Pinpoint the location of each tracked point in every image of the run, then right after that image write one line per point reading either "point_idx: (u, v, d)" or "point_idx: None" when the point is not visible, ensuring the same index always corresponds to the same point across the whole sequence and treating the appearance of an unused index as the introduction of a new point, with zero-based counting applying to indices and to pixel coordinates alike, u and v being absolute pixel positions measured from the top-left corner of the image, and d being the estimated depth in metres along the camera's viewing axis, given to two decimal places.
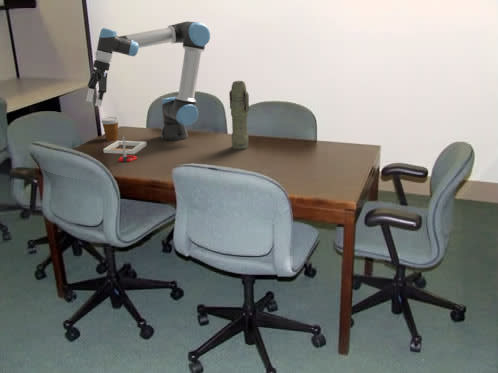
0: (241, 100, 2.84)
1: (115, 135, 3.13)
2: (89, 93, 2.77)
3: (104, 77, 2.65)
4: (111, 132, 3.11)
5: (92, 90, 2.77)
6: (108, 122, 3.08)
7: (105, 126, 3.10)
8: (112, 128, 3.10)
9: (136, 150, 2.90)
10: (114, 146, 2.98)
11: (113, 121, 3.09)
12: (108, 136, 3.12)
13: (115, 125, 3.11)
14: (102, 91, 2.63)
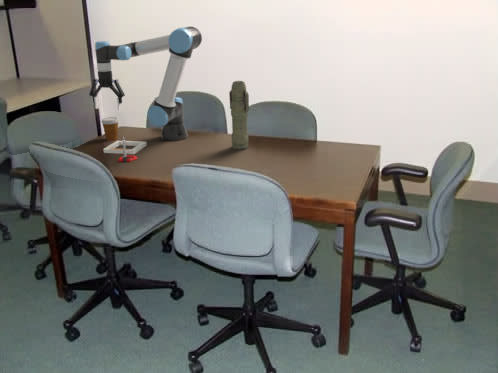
0: (241, 100, 2.84)
1: (115, 135, 3.13)
2: None
3: None
4: (111, 132, 3.11)
5: None
6: (108, 122, 3.08)
7: (105, 126, 3.10)
8: (112, 128, 3.10)
9: (136, 150, 2.90)
10: (114, 146, 2.98)
11: (113, 121, 3.09)
12: (108, 136, 3.12)
13: (115, 125, 3.11)
14: None
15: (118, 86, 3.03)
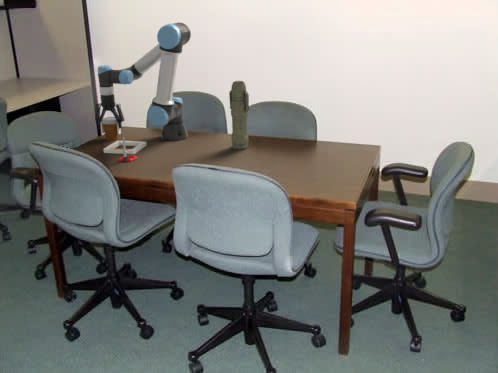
0: (241, 100, 2.84)
1: (115, 135, 3.13)
2: None
3: None
4: (111, 132, 3.11)
5: None
6: (108, 122, 3.08)
7: (105, 126, 3.10)
8: (112, 128, 3.10)
9: (136, 150, 2.90)
10: (114, 146, 2.98)
11: (113, 121, 3.09)
12: (108, 136, 3.12)
13: (115, 125, 3.11)
14: None
15: (119, 111, 3.08)
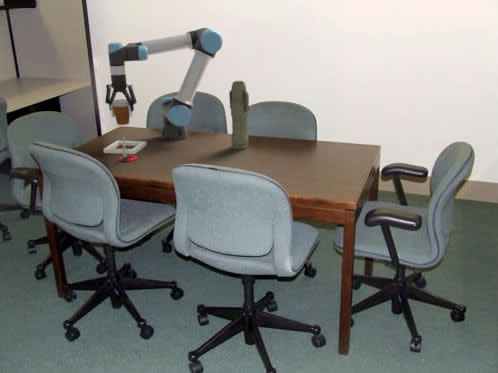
0: (241, 100, 2.84)
1: (126, 119, 2.89)
2: None
3: None
4: (122, 115, 2.87)
5: None
6: (119, 104, 2.84)
7: (116, 109, 2.86)
8: (123, 111, 2.86)
9: (136, 150, 2.90)
10: (114, 146, 2.98)
11: (125, 103, 2.85)
12: (119, 120, 2.88)
13: (127, 108, 2.87)
14: None
15: (131, 92, 2.84)
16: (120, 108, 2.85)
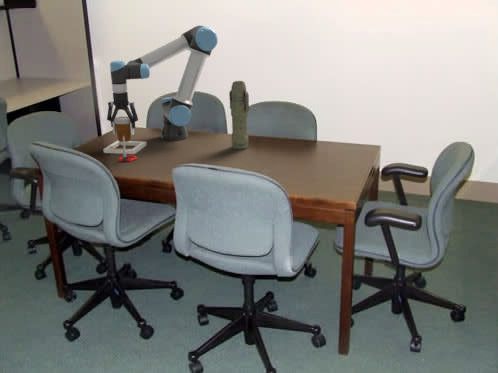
0: (241, 100, 2.84)
1: (128, 136, 2.92)
2: None
3: None
4: (124, 132, 2.90)
5: None
6: (121, 122, 2.87)
7: (118, 126, 2.89)
8: (125, 128, 2.89)
9: (136, 150, 2.90)
10: (114, 146, 2.98)
11: (126, 121, 2.88)
12: (121, 137, 2.91)
13: (128, 125, 2.90)
14: None
15: (133, 110, 2.87)
16: (122, 125, 2.88)
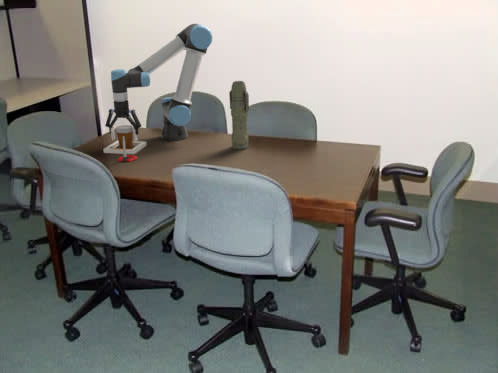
0: (241, 100, 2.84)
1: (130, 144, 2.94)
2: None
3: None
4: (126, 141, 2.92)
5: None
6: (123, 131, 2.89)
7: (119, 135, 2.91)
8: (126, 137, 2.91)
9: (136, 150, 2.90)
10: (114, 146, 2.98)
11: (128, 130, 2.90)
12: (122, 146, 2.93)
13: (130, 134, 2.92)
14: None
15: (135, 117, 2.89)
16: (123, 134, 2.90)
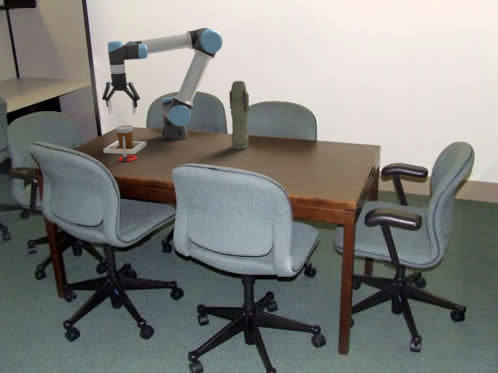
0: (241, 100, 2.84)
1: (130, 144, 2.94)
2: None
3: None
4: (126, 141, 2.92)
5: None
6: (123, 131, 2.89)
7: (119, 135, 2.91)
8: (126, 137, 2.91)
9: (136, 150, 2.90)
10: (114, 146, 2.98)
11: (128, 130, 2.90)
12: (122, 146, 2.93)
13: (130, 134, 2.92)
14: None
15: (133, 89, 2.84)
16: (123, 134, 2.90)
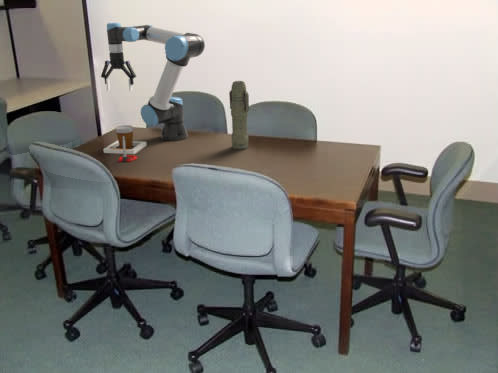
0: (241, 100, 2.84)
1: (130, 144, 2.94)
2: None
3: None
4: (126, 141, 2.92)
5: None
6: (123, 131, 2.89)
7: (119, 135, 2.91)
8: (126, 137, 2.91)
9: (136, 150, 2.90)
10: (114, 146, 2.98)
11: (128, 130, 2.90)
12: (122, 146, 2.93)
13: (130, 134, 2.92)
14: None
15: (130, 67, 3.06)
16: (123, 134, 2.90)
